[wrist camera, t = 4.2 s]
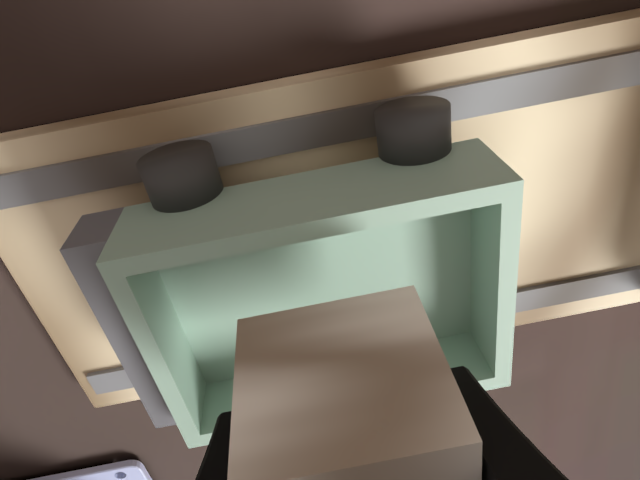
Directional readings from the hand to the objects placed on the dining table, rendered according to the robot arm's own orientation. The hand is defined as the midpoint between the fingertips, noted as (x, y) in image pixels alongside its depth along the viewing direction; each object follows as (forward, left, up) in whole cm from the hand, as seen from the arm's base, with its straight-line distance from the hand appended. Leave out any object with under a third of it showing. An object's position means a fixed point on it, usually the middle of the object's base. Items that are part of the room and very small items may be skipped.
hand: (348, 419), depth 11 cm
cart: (-1, 0, -7) cm, 7 cm away
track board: (+2, 0, -8) cm, 8 cm away
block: (0, 0, -2) cm, 2 cm away
